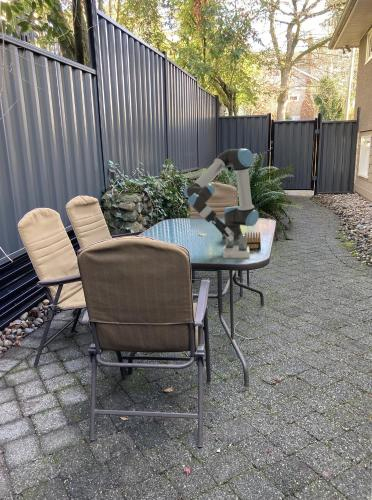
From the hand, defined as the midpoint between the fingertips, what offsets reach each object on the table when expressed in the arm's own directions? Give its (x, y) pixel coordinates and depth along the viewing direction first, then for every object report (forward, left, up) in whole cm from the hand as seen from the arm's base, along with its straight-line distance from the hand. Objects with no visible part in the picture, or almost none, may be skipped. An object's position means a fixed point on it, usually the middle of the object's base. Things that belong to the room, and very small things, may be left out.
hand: (232, 237), depth 242 cm
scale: (+3, +2, -10) cm, 11 cm away
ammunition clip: (-9, +13, -11) cm, 19 cm away
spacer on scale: (+7, +6, -6) cm, 11 cm away
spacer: (0, -2, -6) cm, 6 cm away
